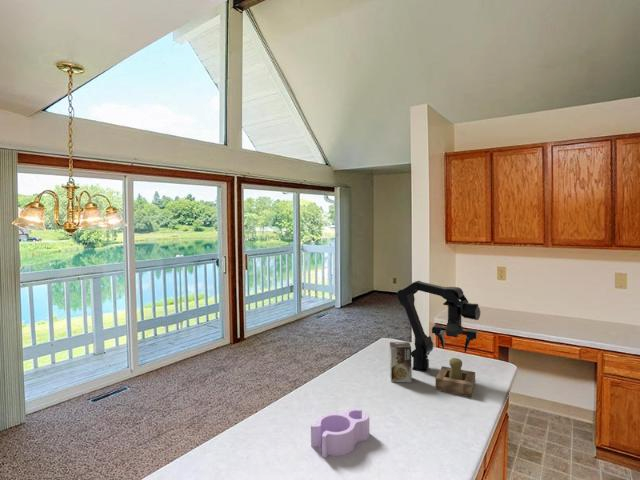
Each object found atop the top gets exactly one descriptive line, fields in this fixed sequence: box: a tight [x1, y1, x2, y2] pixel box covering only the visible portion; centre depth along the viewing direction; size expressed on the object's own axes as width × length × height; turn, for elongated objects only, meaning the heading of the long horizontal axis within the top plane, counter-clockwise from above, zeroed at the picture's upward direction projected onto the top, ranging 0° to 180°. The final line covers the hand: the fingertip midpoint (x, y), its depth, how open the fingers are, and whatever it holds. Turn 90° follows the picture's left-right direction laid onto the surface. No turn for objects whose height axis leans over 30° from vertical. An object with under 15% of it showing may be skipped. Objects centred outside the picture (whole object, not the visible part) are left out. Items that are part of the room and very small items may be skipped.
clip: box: [310, 407, 370, 459], centre depth 122 cm, size 20×12×7 cm, turn 124°
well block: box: [434, 365, 476, 398], centre depth 159 cm, size 14×14×5 cm
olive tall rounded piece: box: [448, 357, 463, 380], centre depth 159 cm, size 6×6×11 cm
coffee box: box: [389, 341, 413, 383], centre depth 166 cm, size 9×6×16 cm
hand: (454, 350), depth 166 cm, fingers open, 9 cm apart
